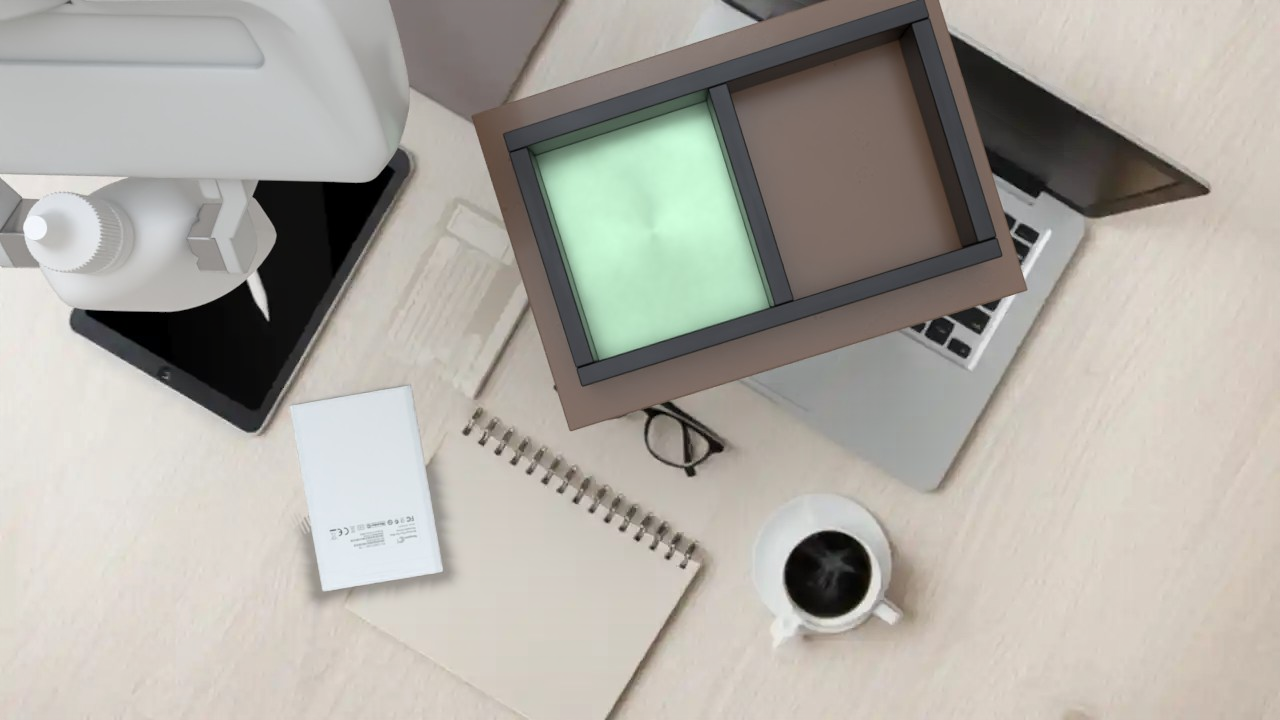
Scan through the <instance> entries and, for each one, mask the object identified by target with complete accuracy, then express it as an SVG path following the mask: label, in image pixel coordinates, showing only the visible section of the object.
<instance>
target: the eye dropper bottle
mask: <svg viewBox="0 0 1280 720" xmlns="http://www.w3.org/2000/svg"><path fill="white" fill-rule="evenodd" d="M39 199H40V200H39V201H38V202H36V204H34V205H33V207H32V208H31V210H30V211H29V214H28V215H27V218H26V221H25V222H24V225H23V230H24V233H25V234H24V236H25V241H26V245H27V248H28V249H29V252H31V255H33V257H34V259H36V260H37V262H39V266H40V268H39V269H40V271H41V273H42V275H43V277H44V279H45V280H46V282H47V283H48V285H49V286H50V288H51V289H52V291H53V292H54V294H55V295H56V296H57V298H58V299H59V300H60V301H62V303H64V304H65V305H67V306H68V307H71V308H74V309H79V310H86V311H87V310H89V311H106V312H107V311H110V312H111V311H113V312H150V313H151V312H152V313H153V312H155V313H156V312H159V313H165V312H166V313H172V312H180V311H184V310H189V309H193V308H197V307H200V306H202V305H206V304H208V303H211V302H213V301H216V300H217V299H219V298H221V297H224V296H225V295H227V294H228V293H230V292H232V291H234V290H235V289H237V287H239V286H241V284H243V283H244V282H245V281H246V280H247V279H248V278H250V277H251V276H252V275H253V274H254V273H255V272H256V271H257V270H258V268H259V267H260V266H261V265H262V264H263V262H264V261H265V260H266V259H267V257H268V256H269V254H270V253H271V251H272V249H273V248H274V245H275V244H276V240H277V232H276V228H275V226H274V224H273V222H272V221H271V220H270V218H269V217H268V215H267V213H266V212H265V211H264V209H263V208H262V206H261V205H260V203H259V201H257V199H256V198H254V197H253V196H252V199H251V201H250V204H249V206H248V208H247V209H248V212H249V215H250V218H251V221H252V224H253V227H254V230H255V233H256V236H257V251H256V254H255V257H254V259H253V261H252V264H251V266H250V268H249V271H248V273H245V274H233V273H230V274H228V273H208V272H201V271H200V270H199V269H198V266H197V264H196V263H197V261H198V259H199V258H198V257H196V256H195V255H194V254H192V252H191V249H190V247H189V244H188V241H187V239H186V237H187V235H188V233H189V231H190V229H191V227H192V225H193V224H195V223H196V222H198V221H199V220H198V218H197V215H198V213H199V211H200V209H201V207H202V205H203V203H223V198H222V197H221V198H220V199H219V200H218V199H207V198H205V197H203V195H202V192H201V190H200V187H199V184H198V182H197V179H193V178H150V177H124V178H122V179H119V180H116V181H114V182H111V183H109V184H107V185H104V186H101V187H100V188H98V189H96V190H95V191H92V192H91V193H89V194H87V195H86V194H81V193H77V192H72V191H65V190H64V191H58V192H57V191H55V192H54V193H52V192H50V193H49V194H46V195H45V196H42V197H41V198H39Z"/></svg>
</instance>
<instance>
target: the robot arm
mask: <svg viewBox="0 0 1280 720" xmlns="http://www.w3.org/2000/svg"><path fill="white" fill-rule="evenodd" d="M403 51H404V50H403V47H402V43H401V38H400V35H399V30H398V28H397V23H396V20H395V16H394V12H393V9H392V6H391V3H390V0H0V175H16V176H17V175H20V176H21V175H22V176H66V177H112V178H128V177H150V178H193V179H197V182H198V184H199V187H200V190H201V192H202V195H203V197H205V198H207V199H218V200H219V199H220V198H221V197H222V198H223V203H203V205H202V207H201V209H200V211H199V213H198V215H197V218H198V220H199V221H198V222H196V223H195V224H193V225H192V227H191V229H190V231H189V233H188V235H187V237H186V239H187V241H188V244H189V247H190V249H191V252H192V254H194V255H195V256H196V257H198V258H199V259H198V261H197V263H196V264H197V266H198V269H199V270H200V271H201V272H208V273H228V274H230V273H233V274H245V273H248V271H249V268H250V266H251V264H252V261H253V259H254V257H255V254H256V251H257V236H256V233H255V230H254V227H253V224H252V221H251V218H250V215H249V212H248V209H247V208H248V206H249V204H250V201H251V199H252V197H253V196H254V193H255V191H256V189H257V186H258V183H259V181H278V182H279V181H282V182H283V181H284V182H322V183H323V182H326V183H333V182H334V183H355V184H357V183H367V182H371V181H373V180H374V179H376V178H377V177H378V176H379V175H380V174H381V172H382V171H383V170H384V169H385V168H386V167H387V165H388V164H389V162H390V161H391V160H392V158H393V157H394V155H395V154H396V152H397V151H398V148H399V146H400V143H401V141H402V138H403V136H404V132H405V129H406V125H407V121H408V116H409V111H410V105H411V90H410V89H411V88H410V80H409V76H408V69H407V65H406V59H405V56H404V55H405V54H404V52H403ZM40 199H41V198H23V196H21V194H20V193H18V191H16V190H15V189H14V188H13V187H12V186H11V185H9V184H8V183H7V182H6V181H5V180H4V179H2V178H1V177H0V267H1V268H2V269H40V266H39V262H37V260H36V259H34V257H33V255H31V252H29V249H28V248H27V245H26V241H25V236H24V234H25V233H24V230H23V225H24V222H25V221H26V218H27V215H28V214H29V211H30V210H31V208H32V207H33V205H34V204H36V202H38V201H39V200H40Z"/></svg>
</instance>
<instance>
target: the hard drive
mask: <svg viewBox="0 0 1280 720" xmlns="http://www.w3.org/2000/svg"><path fill="white" fill-rule="evenodd" d="M288 407H289V412H290V418H291V425H292V429H293V435H294V440H295V446H296V451H297V458H298V463H299V468H300V474H301V479H302V485H303V490H304V496H305V501H306V502H305V503H306V507H307V512H308V513H307V514H308V518H309V524H310V529H311V535H312V541H313V546H314V551H315V557H316V562H317V568H318V572H319V579H320V585H321V591H322V592H332V591H336V590H342V589H348V588H355V587H360V586H361V587H362V586H367V585H373V584H378V583H384V582H391V581H397V580H403V579H404V580H405V579H411V578H416V577H422V576H428V575H434V574H439V573H442V572H444V568H443V567H444V565H443V560H442V556H441V550H440V545H439V544H440V543H439V538H438V533H437V532H438V531H437V527H436V521H435V514H434V508H433V502H432V496H431V491H430V484H429V479H428V474H427V467H426V462H425V454H424V450H423V445H422V438H421V433H420V427H419V421H418V415H417V411H416V405H415V399H414V393H413V388H412V384H407V385H402V386H396V387H391V388H384V389H379V390H373V391H367V392H361V393H355V394H350V395H343V396H338V397H332V398H326V399H321V400H315V401H314V400H313V401H309V402H303V403H302V402H301V403H297V404H290V405H289V406H288Z"/></svg>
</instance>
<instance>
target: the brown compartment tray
mask: <svg viewBox="0 0 1280 720" xmlns="http://www.w3.org/2000/svg"><path fill="white" fill-rule="evenodd" d="M952 41H953V40H952V38H951V34H950V31H949V28H948V25H947V22H946V18H945V15H944V12H943V9H942V5H941V1H940V0H823V1H820V2H817V3H814V4H811V5H807V6H805V7H801V8H798V9H794V10H791V11H789V12H785V13H782V14H779V15H777V16H773V17H770V18H767V19H764V20H761V21H758V22H755V23H752V24H749V25H745V26H742V27H739V28H736V29H733V30H730V31H726V32H724V33H721V34H718V35H715V36H711V37H708V38H705V39H701V40H699V41H696V42H693V43H689V44H687V45H683V46H680V47H678V48H675V49H671V50H668V51H666V52H665V51H664V52H662V53H659V54H655V55H652V56H649V57H647V58H643V59H641V60H638V61H634V62H631V63H627V64H625V65H621V66H618V67H616V68H612V69H609V70H606V71H603V72H600V73H596V74H594V75H591V76H588V77H584V78H582V79H579V80H575V81H571V82H569V83H566V84H563V85H560V86H557V87H554V88H550V89H547V90H545V91H542V92H538V93H535V94H533V95H528V96H526V97H523V98H519V99H517V100H513V101H510V102H507V103H504V104H502V105H498V106H494V107H492V108H489V109H486V110H482V111H479V112H476V113H473V114H472V115H471V120H472V124H473V126H474V130H475V134H476V136H477V139H478V143H479V145H480V150H481V152H482V155H483V159H484V162H485V165H486V168H487V171H488V175H489V177H490V181H491V184H492V187H493V190H494V194H495V197H496V200H497V204H498V206H499V210H500V213H501V216H502V219H503V222H504V226H505V229H506V232H507V236H508V239H509V242H510V244H511V248H512V252H513V254H514V258H515V261H516V265H517V268H518V271H519V274H520V277H521V279H522V284H523V286H524V290H525V293H526V296H527V299H528V303H529V306H530V309H531V312H532V315H533V319H534V322H535V325H536V327H537V331H538V334H539V338H540V341H541V344H542V347H543V351H544V354H545V357H546V361H547V363H548V366H549V367H548V368H549V370H550V374H551V376H552V379H553V383H554V386H555V389H556V393H557V396H558V399H559V402H560V405H561V408H562V411H563V414H564V417H565V421H566V424H567V427H568V430H569V432H574V431H577V430H581V429H583V428H587V427H590V426H593V425H596V424H600V423H603V422H606V421H609V420H613V419H616V418H619V417H623V416H625V415H629V414H632V413H636V412H639V411H642V410H645V409H650V408H653V407H655V406H658V405H661V404H664V403H668V402H671V401H674V400H675V401H676V400H677V399H682V398H685V397H688V396H691V395H693V394H697V393H701V392H705V391H707V390H710V389H713V388H717V387H720V386H723V385H726V384H730V383H732V382H736V381H739V380H742V379H745V378H748V377H749V378H750V377H752V376H756V375H758V374H762V373H766V372H768V371H772V370H775V369H779V368H782V367H784V366H788V365H791V364H794V363H797V362H798V363H799V362H801V361H805V360H807V359H810V358H814V357H816V356H821V355H823V354H827V353H830V352H833V351H836V350H840V349H843V348H846V347H850V346H852V345H856V344H859V343H862V342H866V341H869V340H872V339H876V338H878V337H881V336H885V335H889V334H892V333H895V332H898V331H901V330H905V329H909V328H911V327H914V326H918V325H921V324H924V323H927V322H930V321H934V320H937V319H940V318H943V317H946V316H951V315H954V314H956V313H960V312H963V311H965V310H969V309H973V308H976V307H979V306H983V305H986V304H988V303H992V302H996V301H999V300H1001V299H1005V298H1008V297H1012V296H1014V295H1018V294H1021V293H1024V292H1027V291H1028V286H1027V283H1026V280H1025V275H1024V273H1023V270H1022V266H1021V263H1020V260H1019V257H1018V253H1017V250H1016V246H1015V243H1014V240H1013V237H1012V234H1011V231H1010V228H1009V224H1008V221H1007V217H1006V215H1005V214H1006V213H1005V211H1004V208H1003V205H1002V201H1001V198H1000V194H999V191H998V188H997V184H996V181H995V179H994V176H993V172H992V168H991V166H990V163H989V159H988V156H987V152H986V149H985V145H984V143H983V138H982V136H981V132H980V129H979V125H978V124H977V120H976V119H977V118H976V116H975V113H974V110H973V107H972V104H971V100H970V97H969V94H968V91H967V88H966V84H965V80H964V77H963V74H962V71H961V68H960V65H959V60H958V57H957V54H956V51H955V47H954V44H953V42H952Z"/></svg>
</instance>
